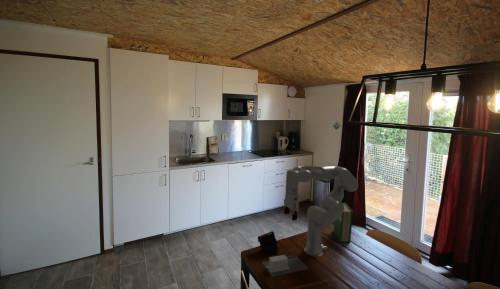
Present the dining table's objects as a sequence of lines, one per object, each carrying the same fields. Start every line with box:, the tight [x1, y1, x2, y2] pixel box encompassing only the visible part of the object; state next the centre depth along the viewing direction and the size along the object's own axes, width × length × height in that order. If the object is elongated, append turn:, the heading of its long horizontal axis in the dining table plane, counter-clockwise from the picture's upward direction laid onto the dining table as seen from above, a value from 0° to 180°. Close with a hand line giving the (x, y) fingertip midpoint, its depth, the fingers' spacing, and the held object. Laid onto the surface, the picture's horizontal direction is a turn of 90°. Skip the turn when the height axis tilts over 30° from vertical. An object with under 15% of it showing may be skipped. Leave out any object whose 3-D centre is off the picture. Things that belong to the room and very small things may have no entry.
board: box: [261, 255, 309, 277], centre depth 152 cm, size 24×14×5 cm, turn 110°
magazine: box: [257, 230, 279, 254], centre depth 166 cm, size 4×13×15 cm, turn 87°
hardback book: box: [333, 201, 354, 244], centre depth 191 cm, size 18×7×24 cm, turn 176°
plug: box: [268, 254, 297, 271], centre depth 150 cm, size 16×4×6 cm, turn 110°
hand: (290, 216), depth 157 cm, fingers open, 9 cm apart
